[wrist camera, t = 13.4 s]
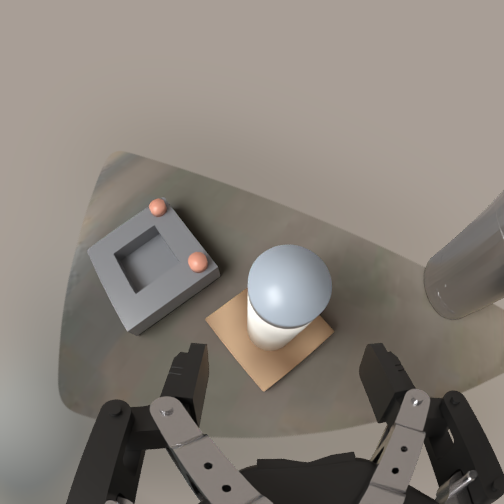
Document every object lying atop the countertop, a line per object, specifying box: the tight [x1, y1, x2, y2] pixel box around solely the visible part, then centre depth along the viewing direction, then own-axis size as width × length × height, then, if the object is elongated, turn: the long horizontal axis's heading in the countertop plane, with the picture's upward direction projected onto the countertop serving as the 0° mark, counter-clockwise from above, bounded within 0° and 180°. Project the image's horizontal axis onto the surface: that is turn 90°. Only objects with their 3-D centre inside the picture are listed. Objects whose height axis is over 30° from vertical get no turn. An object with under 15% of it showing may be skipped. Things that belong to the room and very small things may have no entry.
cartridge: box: [247, 245, 332, 351], centre depth 20 cm, size 4×4×13 cm
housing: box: [87, 197, 220, 336], centre depth 28 cm, size 11×11×4 cm
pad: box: [205, 288, 334, 392], centre depth 26 cm, size 9×9×1 cm
